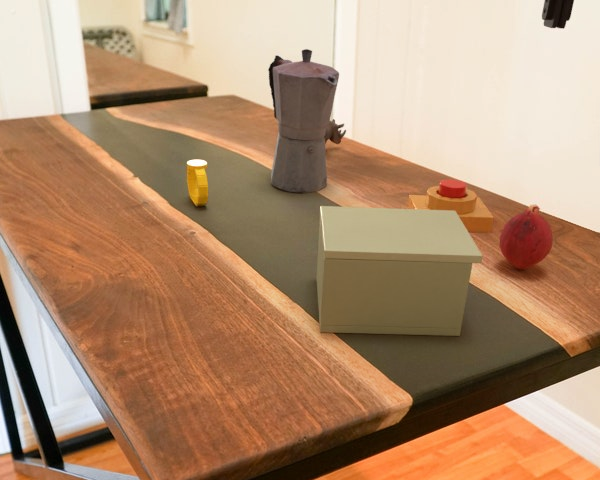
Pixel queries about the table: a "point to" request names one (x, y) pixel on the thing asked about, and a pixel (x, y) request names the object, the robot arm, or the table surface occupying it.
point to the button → (452, 189)
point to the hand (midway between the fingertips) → (553, 26)
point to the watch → (197, 181)
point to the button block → (456, 208)
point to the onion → (526, 239)
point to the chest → (390, 295)
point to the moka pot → (301, 121)
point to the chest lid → (396, 235)
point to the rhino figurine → (334, 132)
